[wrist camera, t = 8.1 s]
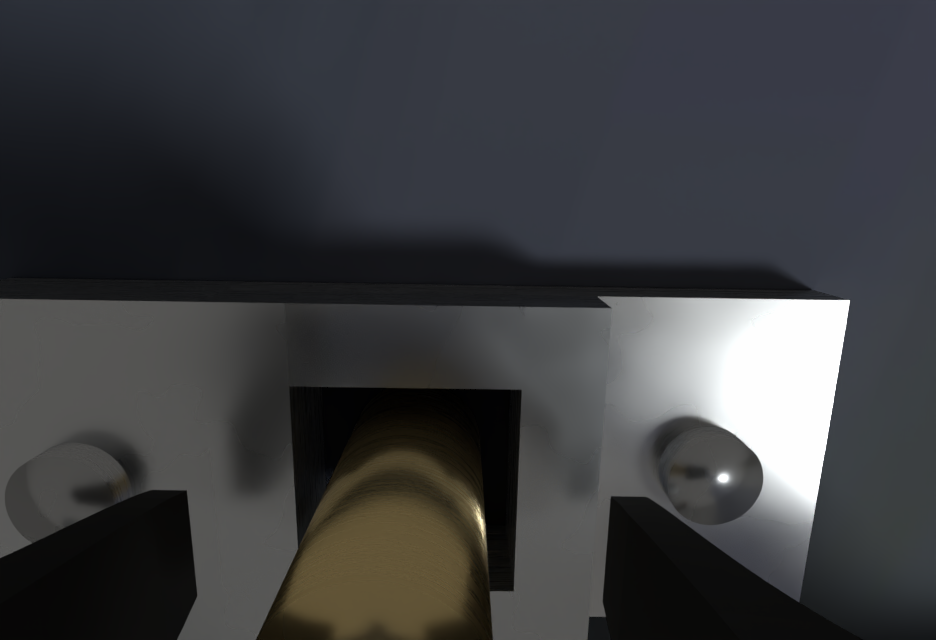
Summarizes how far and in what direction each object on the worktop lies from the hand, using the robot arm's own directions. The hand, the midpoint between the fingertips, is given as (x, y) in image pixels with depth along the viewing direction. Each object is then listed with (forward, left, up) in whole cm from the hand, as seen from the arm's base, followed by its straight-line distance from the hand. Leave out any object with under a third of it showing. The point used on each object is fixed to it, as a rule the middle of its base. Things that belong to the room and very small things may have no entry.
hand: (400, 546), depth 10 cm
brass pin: (0, 0, -4) cm, 4 cm away
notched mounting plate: (0, 0, -4) cm, 4 cm away
